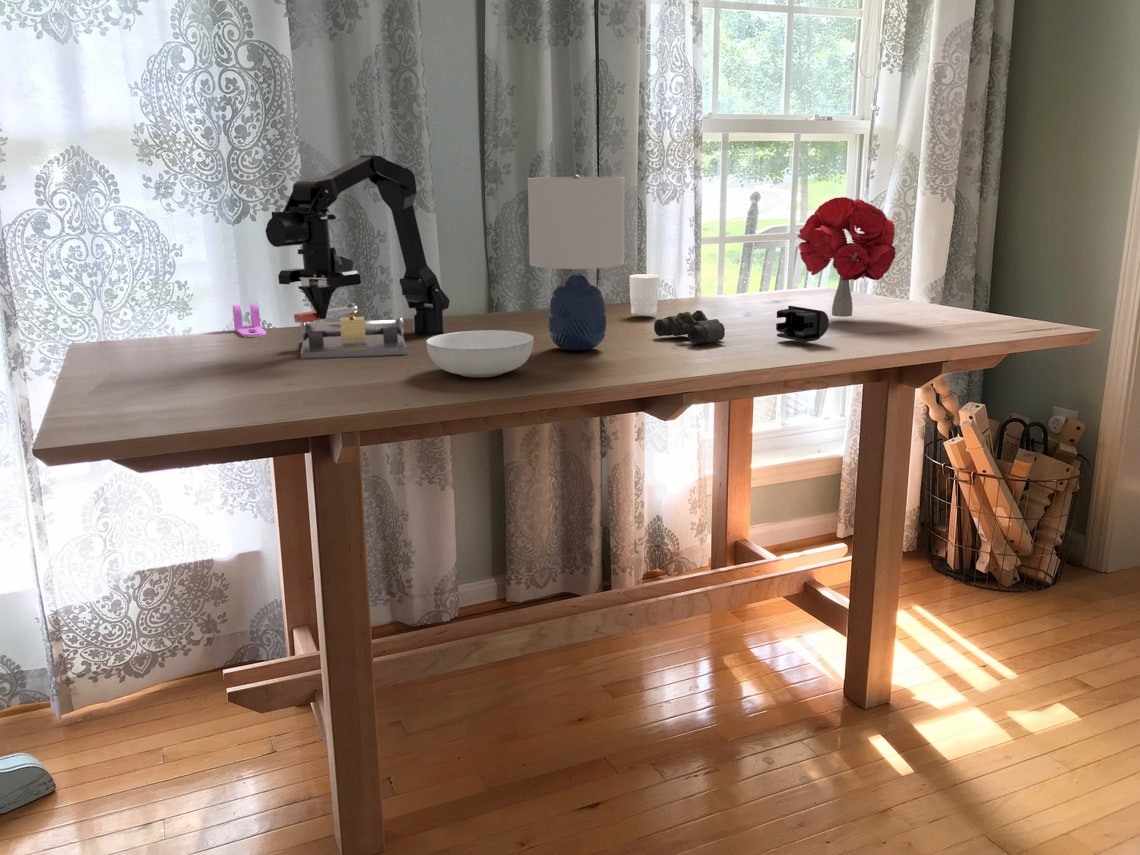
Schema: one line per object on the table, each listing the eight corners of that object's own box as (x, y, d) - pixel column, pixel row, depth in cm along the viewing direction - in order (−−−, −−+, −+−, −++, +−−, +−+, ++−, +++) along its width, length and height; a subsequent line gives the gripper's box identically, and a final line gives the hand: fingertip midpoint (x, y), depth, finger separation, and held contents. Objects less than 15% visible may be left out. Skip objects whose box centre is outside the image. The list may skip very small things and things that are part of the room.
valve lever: (351, 311, 214) (351, 302, 213) (360, 312, 212) (359, 303, 212) (294, 321, 201) (293, 312, 200) (302, 323, 199) (301, 313, 199)
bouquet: (850, 306, 266) (857, 194, 258) (909, 319, 245) (919, 197, 237) (783, 311, 258) (789, 196, 250) (838, 325, 237) (846, 199, 229)
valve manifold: (401, 338, 226) (400, 304, 224) (407, 354, 207) (405, 317, 205) (304, 343, 221) (301, 308, 219) (301, 360, 203) (297, 322, 200)
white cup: (659, 315, 254) (660, 277, 252) (629, 315, 255) (629, 277, 252) (657, 311, 262) (658, 274, 259) (628, 311, 262) (628, 274, 260)
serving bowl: (527, 360, 201) (526, 327, 199) (541, 382, 181) (541, 345, 179) (426, 364, 197) (424, 331, 196) (429, 387, 178) (427, 350, 176)
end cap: (828, 339, 220) (830, 309, 218) (805, 342, 216) (807, 312, 214) (796, 333, 228) (797, 304, 226) (774, 336, 224) (775, 307, 223)
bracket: (235, 332, 237) (232, 304, 235) (258, 330, 239) (255, 302, 238) (243, 340, 226) (241, 311, 224) (268, 338, 228) (265, 309, 226)
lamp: (577, 335, 227) (576, 173, 217) (642, 346, 213) (644, 174, 203) (512, 347, 213) (507, 175, 203) (577, 360, 199) (575, 175, 189)
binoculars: (688, 330, 234) (689, 304, 232) (735, 340, 221) (736, 312, 220) (653, 335, 228) (653, 309, 226) (699, 345, 215) (699, 317, 214)
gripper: (376, 241, 201) (382, 316, 204) (313, 240, 210) (320, 311, 214) (337, 245, 191) (344, 323, 195) (273, 244, 201) (281, 318, 205)
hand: (322, 318), depth 203 cm, fingers closed
